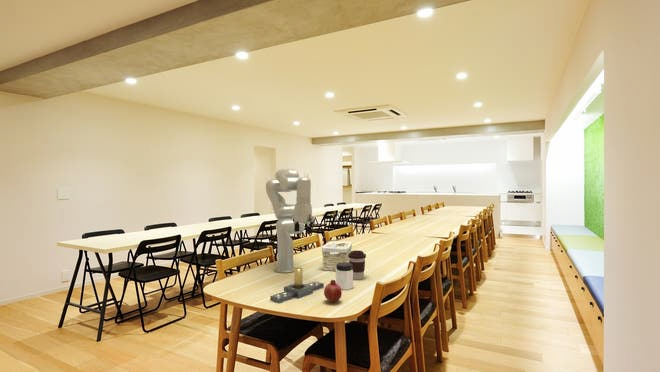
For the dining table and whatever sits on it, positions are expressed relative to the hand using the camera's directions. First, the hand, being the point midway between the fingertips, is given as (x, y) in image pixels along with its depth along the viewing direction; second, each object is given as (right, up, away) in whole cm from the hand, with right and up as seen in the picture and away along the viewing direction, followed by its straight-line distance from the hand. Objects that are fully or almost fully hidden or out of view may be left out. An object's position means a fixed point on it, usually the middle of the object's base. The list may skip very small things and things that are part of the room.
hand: (303, 232), depth 184 cm
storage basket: (+19, -27, +33) cm, 47 cm away
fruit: (+16, -27, -30) cm, 44 cm away
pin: (-1, -27, -19) cm, 33 cm away
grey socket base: (-1, -27, -19) cm, 33 cm away
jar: (+22, -27, -9) cm, 36 cm away
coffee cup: (+30, -27, +8) cm, 41 cm away
